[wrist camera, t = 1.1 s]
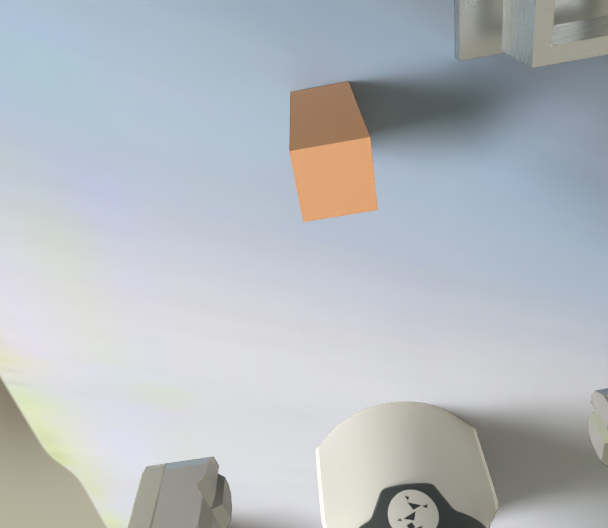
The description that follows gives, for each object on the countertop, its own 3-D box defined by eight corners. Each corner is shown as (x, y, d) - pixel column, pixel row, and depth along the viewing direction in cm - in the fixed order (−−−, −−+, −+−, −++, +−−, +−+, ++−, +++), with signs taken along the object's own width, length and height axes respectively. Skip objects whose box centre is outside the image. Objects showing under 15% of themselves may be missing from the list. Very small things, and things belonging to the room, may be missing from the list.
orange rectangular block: (355, 138, 32) (377, 209, 24) (300, 147, 32) (303, 221, 24) (348, 81, 30) (370, 137, 22) (290, 92, 30) (289, 150, 22)
